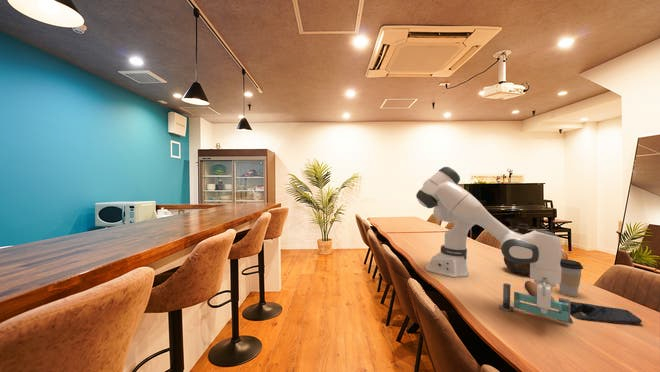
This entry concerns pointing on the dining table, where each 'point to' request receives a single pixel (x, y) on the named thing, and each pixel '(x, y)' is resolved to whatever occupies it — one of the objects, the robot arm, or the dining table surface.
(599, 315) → the dark slate chunk
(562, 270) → the coffee cup
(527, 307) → the gate
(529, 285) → the sunglasses case
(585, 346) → the dining table surface
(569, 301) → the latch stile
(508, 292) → the hinge post
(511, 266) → the dark brown vase
